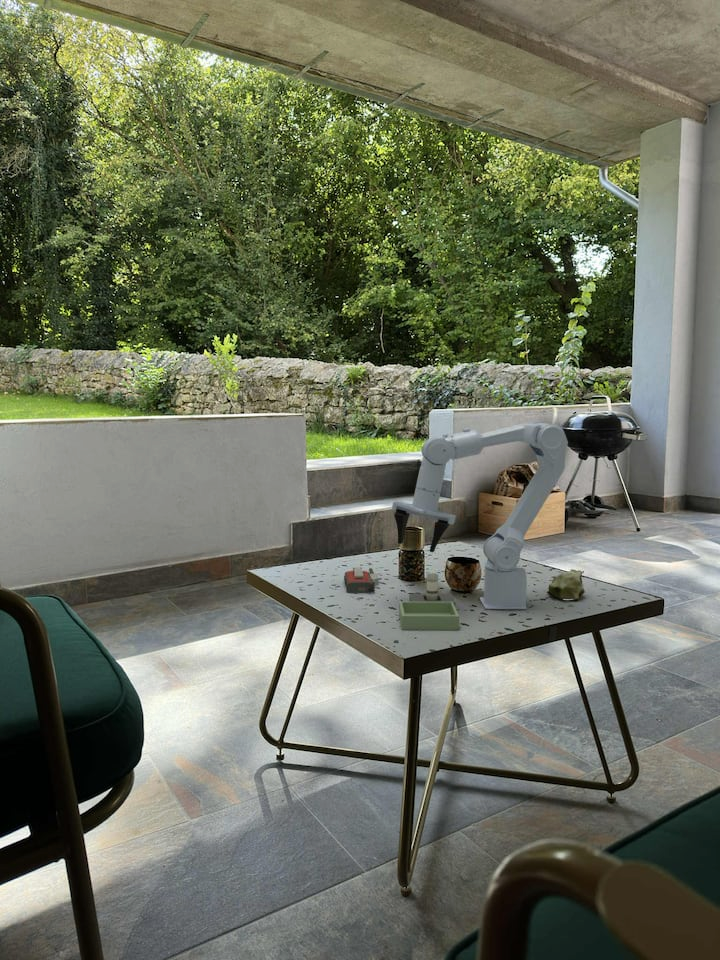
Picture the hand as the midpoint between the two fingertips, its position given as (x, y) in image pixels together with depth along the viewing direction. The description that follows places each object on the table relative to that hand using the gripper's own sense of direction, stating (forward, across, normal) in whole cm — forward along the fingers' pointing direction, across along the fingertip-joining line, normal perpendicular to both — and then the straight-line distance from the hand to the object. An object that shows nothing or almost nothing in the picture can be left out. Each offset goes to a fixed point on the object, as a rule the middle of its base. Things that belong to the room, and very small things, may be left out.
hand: (416, 547), depth 165 cm
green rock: (+7, +35, +21) cm, 41 cm away
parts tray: (+14, +8, -9) cm, 18 cm away
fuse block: (+13, +6, +2) cm, 15 cm away
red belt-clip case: (+16, -15, +15) cm, 27 cm away
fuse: (+13, +6, +2) cm, 15 cm away
